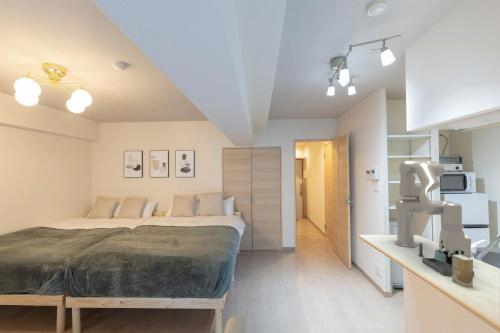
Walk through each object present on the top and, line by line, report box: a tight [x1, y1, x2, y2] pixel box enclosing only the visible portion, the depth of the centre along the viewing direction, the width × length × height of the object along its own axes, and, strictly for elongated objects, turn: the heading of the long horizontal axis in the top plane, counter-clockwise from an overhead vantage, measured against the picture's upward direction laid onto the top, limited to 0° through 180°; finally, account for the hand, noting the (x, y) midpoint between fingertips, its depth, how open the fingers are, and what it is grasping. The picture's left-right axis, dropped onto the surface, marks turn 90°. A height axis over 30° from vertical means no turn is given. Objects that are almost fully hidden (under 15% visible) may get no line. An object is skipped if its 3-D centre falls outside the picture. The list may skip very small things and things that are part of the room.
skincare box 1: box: [451, 233, 472, 259], centre depth 137 cm, size 8×7×16 cm
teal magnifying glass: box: [434, 249, 458, 266], centre depth 128 cm, size 12×8×6 cm, turn 175°
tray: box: [421, 257, 475, 278], centre depth 129 cm, size 18×14×2 cm
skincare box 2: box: [451, 255, 474, 287], centre depth 113 cm, size 6×4×12 cm
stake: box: [417, 242, 425, 258], centre depth 148 cm, size 3×3×8 cm
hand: (453, 263), depth 124 cm, fingers closed on teal magnifying glass, 3 cm apart
